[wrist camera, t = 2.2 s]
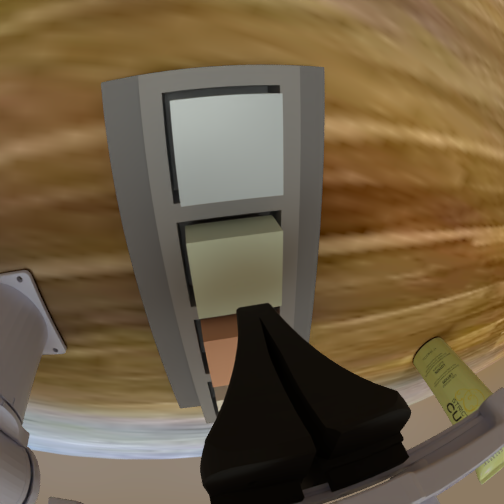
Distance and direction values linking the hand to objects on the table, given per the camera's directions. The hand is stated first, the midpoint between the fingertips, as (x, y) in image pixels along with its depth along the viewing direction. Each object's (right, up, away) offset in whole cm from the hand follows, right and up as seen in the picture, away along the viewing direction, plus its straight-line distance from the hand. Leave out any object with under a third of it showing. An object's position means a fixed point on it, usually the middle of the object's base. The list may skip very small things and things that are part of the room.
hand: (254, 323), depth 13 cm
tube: (+22, -9, +21) cm, 32 cm away
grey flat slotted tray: (-2, +1, +9) cm, 9 cm away
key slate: (-1, +8, +1) cm, 8 cm away
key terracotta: (-1, -3, +8) cm, 8 cm away
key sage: (-1, +3, +5) cm, 5 cm away
